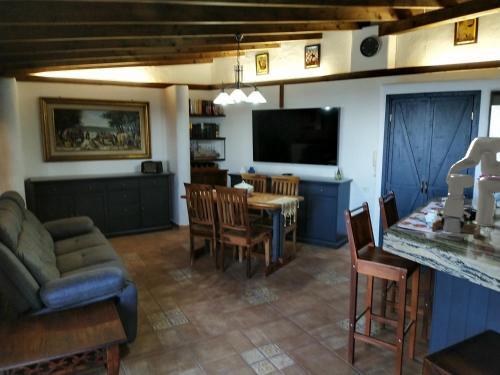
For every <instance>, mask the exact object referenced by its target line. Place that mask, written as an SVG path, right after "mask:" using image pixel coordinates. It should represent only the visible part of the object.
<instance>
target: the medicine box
mask: <svg viewBox="0 0 500 375" xmlns="http://www.w3.org/2000/svg"><path fill="white" fill-rule="evenodd" d="M460 223H461V219H460V218H458V217H451V216H445V217H444V227H443V229H442V230H443V231H444V233H448V234H454V233H456V234H457V233H458V234H460V233H461V232H460V229H461V228H460Z"/></svg>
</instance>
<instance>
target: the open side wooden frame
mask: <svg viewBox="0 0 500 375" xmlns="http://www.w3.org/2000/svg"><path fill="white" fill-rule="evenodd" d="M431 227H432V228H431V232H435V231H436V230H438V229H442V228H443V227H444V225H442V223H441V219H437V220H434V222H432V226H431ZM437 228H438V229H437ZM460 233H466V234H467V233H468V234H473V236H472V237H473V239H477V237H478V236H479V233H480V225H476V224H469V223H464V227H462V228H461V229H460Z"/></svg>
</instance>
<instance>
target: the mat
mask: <svg viewBox="0 0 500 375" xmlns="http://www.w3.org/2000/svg"><path fill="white" fill-rule="evenodd" d="M436 238H438V239H442V240H449V241H454V242H461V241H462V240H463V239H464V238H465V235H459V234H454V233H448V232H440V233H439V234H438V235H437V236H436Z"/></svg>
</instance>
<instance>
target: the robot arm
mask: <svg viewBox="0 0 500 375" xmlns="http://www.w3.org/2000/svg"><path fill="white" fill-rule="evenodd" d="M499 153H500V137H499V136H498V137H497V136H478V137H477V136H476V137H475V138H474V139H473V140H471V142H470V144H469V146H468V149H467V150H466V152H465V154H464V157H463V158H462V159H460V160H459V161H457V162H456V163H454V164H453V165H452V166H451V167H450V169H449V170H448V172H447V174H446V179H445V183H446V184H447V185H448V190H447V198H445V202H444V205H443V206H444V207H442V208H439V209H437V210H436V212H437V214H438V216H439V217H440V220H441V223H442V225H444V217H445V216H449V217H458V218H460V219H461V223H460V228H462V227H464V224H465V221H467V220H469V218H470V216H471V213H470V212H467V211H466V210H465V200H464V199H466V196H465V195H464V188H466V189H467V188H468V189H469V188H472V186H473V185H474V184H475V178H474V176H472V175H470V174H463V173H459V172H462V171H463V170H467V169H471V168H474V167H477V166H478V165H479V164H480V172H481V174H482V175H484V176H481V177H480V178H479V179H478V183H477V187H478V188H477V189H478V190H477V191H478V195H477V202H476V203H477V204H476V213H475V220H474V219H473V220H472V224H473V225H476V226H481V227H495V225H496V223H494V222H493V219H494V211H495V202H496V197H495V195H494V194H493V193H498V194H499V193H500V161H498V159H497V158H498V157H497V154H499ZM465 215H466V216H465ZM464 216H465V217H464Z"/></svg>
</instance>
